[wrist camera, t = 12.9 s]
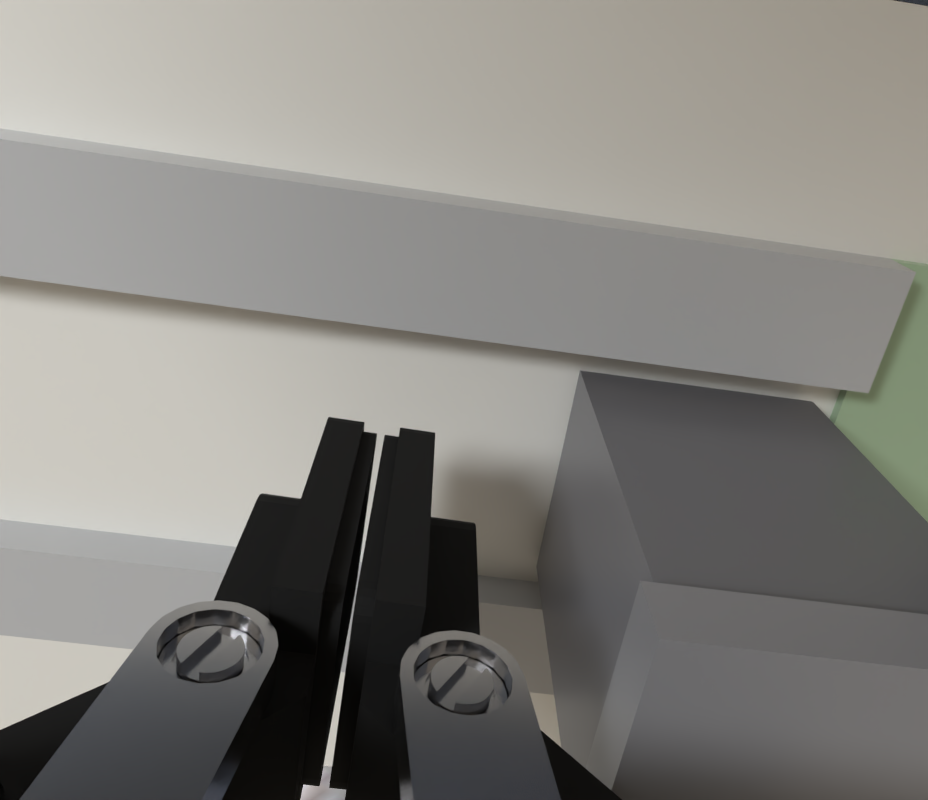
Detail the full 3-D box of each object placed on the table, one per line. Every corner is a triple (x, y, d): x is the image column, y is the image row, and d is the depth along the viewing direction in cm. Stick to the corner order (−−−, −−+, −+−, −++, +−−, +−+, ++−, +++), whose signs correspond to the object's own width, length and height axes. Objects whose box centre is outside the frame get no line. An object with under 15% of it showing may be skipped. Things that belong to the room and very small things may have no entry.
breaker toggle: (565, 351, 13) (659, 639, 7) (835, 388, 13) (1161, 696, 7) (517, 577, 15) (556, 962, 9) (755, 605, 15) (954, 997, 9)
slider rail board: (-667, -238, 12) (-1108, -344, 9) (1041, 45, 14) (1231, 49, 11) (-366, 588, 19) (-550, 712, 15) (767, 712, 21) (829, 848, 17)
